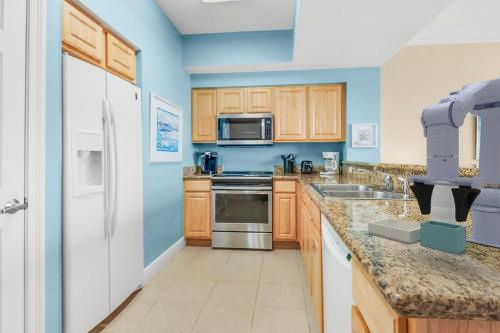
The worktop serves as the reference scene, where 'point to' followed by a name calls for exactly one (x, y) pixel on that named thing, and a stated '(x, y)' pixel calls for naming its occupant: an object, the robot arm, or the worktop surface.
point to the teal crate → (443, 236)
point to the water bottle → (443, 204)
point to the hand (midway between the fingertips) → (442, 217)
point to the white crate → (395, 230)
